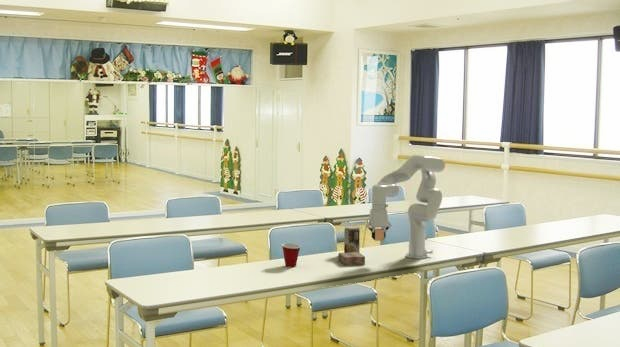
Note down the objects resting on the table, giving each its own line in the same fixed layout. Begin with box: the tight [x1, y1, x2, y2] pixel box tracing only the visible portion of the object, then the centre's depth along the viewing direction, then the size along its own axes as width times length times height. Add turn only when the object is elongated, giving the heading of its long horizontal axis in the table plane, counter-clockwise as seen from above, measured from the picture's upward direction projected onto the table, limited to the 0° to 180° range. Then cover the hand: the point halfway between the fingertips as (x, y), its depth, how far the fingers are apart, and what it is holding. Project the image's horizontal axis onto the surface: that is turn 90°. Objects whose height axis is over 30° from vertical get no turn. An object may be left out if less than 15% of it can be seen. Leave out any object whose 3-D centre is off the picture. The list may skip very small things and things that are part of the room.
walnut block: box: [337, 251, 366, 267], centre depth 383 cm, size 12×12×5 cm
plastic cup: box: [281, 242, 302, 268], centre depth 373 cm, size 11×11×12 cm
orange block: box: [373, 227, 385, 242], centre depth 380 cm, size 5×5×6 cm
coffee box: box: [343, 227, 361, 253], centre depth 401 cm, size 9×6×16 cm
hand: (378, 238), depth 381 cm, fingers closed on orange block, 4 cm apart
